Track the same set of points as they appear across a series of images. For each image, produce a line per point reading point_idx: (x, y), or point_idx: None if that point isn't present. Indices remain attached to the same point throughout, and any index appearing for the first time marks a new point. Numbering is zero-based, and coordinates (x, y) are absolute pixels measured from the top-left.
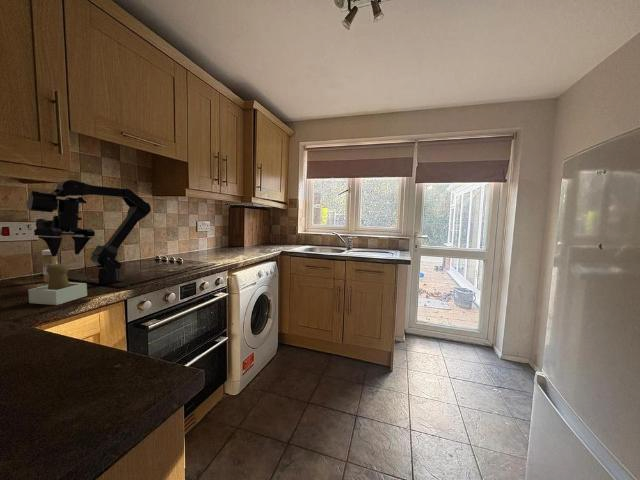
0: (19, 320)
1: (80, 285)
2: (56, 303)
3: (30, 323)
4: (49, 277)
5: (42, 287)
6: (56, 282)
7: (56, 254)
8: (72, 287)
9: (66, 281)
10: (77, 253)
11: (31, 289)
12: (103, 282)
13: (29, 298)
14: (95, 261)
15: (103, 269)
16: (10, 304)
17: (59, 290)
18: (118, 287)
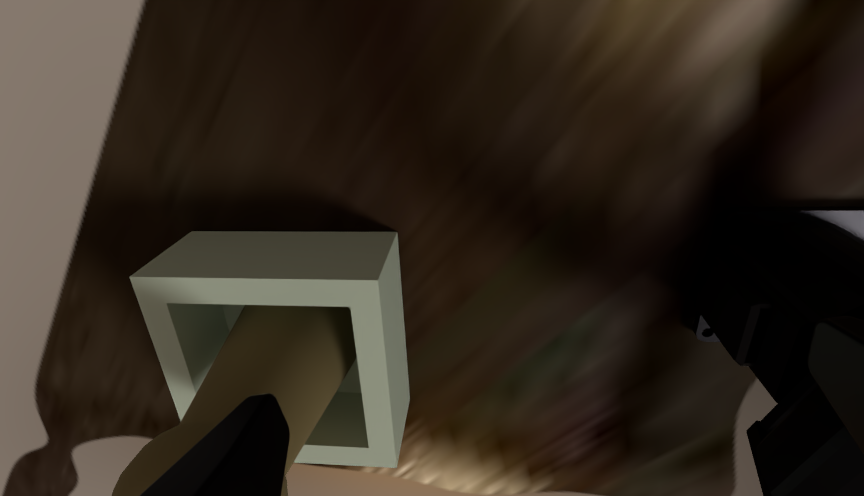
0: (65, 425)
1: (351, 462)
2: None
3: (77, 479)
4: (182, 420)
5: (211, 303)
6: None
7: (274, 474)
8: (297, 458)
9: None
10: (824, 378)
11: (141, 296)
12: (698, 304)
13: (175, 247)
14: (814, 421)
15: (802, 368)
16: (126, 149)
17: None
18: (622, 425)
